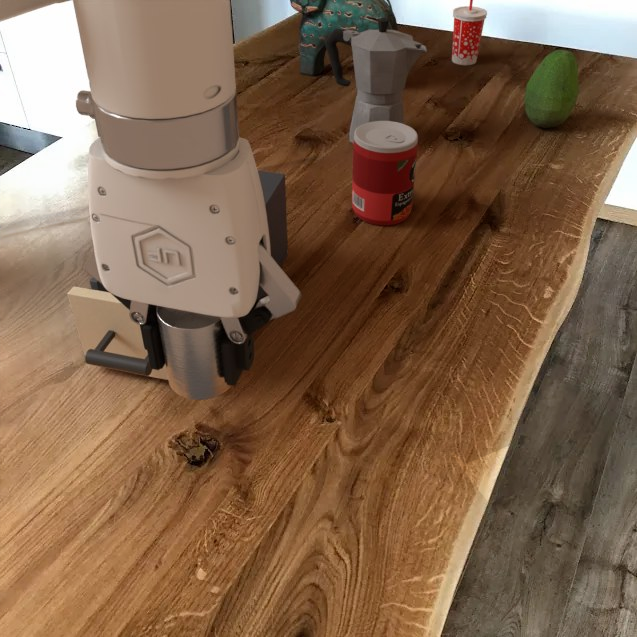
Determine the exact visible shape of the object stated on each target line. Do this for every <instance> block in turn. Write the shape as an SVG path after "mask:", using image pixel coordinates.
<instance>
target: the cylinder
mask: <svg viewBox="0 0 637 637" xmlns="http://www.w3.org/2000/svg"><path fill="white" fill-rule="evenodd" d="M156 311H157V318H158V323H159V329H160V335H161V341H162V346H163V352H164V358H165V363H166V369H167V375H168V380H167V381H168V385H169V387H170V389H171V390H172V391H173V392H174V393H175V394H176V395H178V396H179V397H182V398H184V399H188V400H192V401H204V400H210V399H213V398H217V397H218V396H219V397H220V396H221V395H222V394H225V393H226V392H227V391H228V390H229V389H230V388H231V387H232V386H231V385H227V383H226V382H225V381H224V371H223V362H222V353H221V342H222V340H223V338H224V336H225V335H226V331H225V328H224V326H223V324H222V321H221V319H220V317H216V316H210V315H205V314H199V313H194V312H189V311H183V310H178V309H173V308H167V307H162V306H157V308H156Z"/></svg>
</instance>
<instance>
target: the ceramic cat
mask: <svg viewBox="0 0 637 637" xmlns="http://www.w3.org/2000/svg"><path fill="white" fill-rule="evenodd" d="M289 2H290V6H291V8H292V9H293V10H294V11H296V12H298V13H300V14H301V15H302V16H301V19H300V23H299V42H298V53H299V54H298V55H299V73H300V74H301V75H307V76H310V77H314V76H317V75H319V74H320V73H321V72H323V71H324V70H325V58H326V52H327V49H326V46H325V40H326V38H327V37H328V36H329V35H330V34H331V32H332V31H333V30H334V29H337V28H338V29H343V30H353V31H357V32H359V33H360V32H364V31H367V30H379V26H378V19H379V18H387V19H389V22H388V26H387V30H396V31H399V27H398V23H397V18H396V15H395V13H394V10H393V6H392V3H391V1H390V0H289Z"/></svg>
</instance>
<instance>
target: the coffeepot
mask: <svg viewBox="0 0 637 637" xmlns="http://www.w3.org/2000/svg"><path fill="white" fill-rule="evenodd" d="M388 22H389V19H387V18H379V19H378V26H379V30H367V31H364V32H360V33H359V32H357V31H353V30H343V29H338V28H337V29H334V30H333V31H332V32H331V34H330V35H329V36H328V37H327V38H326V40H325V46H326V49H327V50H326V52H327V56H328V59H329V62H330V65H331V69H332V73H333V76H334V79H335V82H336V84H337V85H339V86H341V87H349V86H350V84H351V80H350V79H349V80H348V79H346V78H344V76H343V66H342V63H341V61H340V54H339V48H338V46H337V43H342V44H344V45H347V46H350V47H351V52H352V60H353V69H354V71H353V72H354V78H355V87H356V89H357V92H356V93H357V94H356V97H355V101H354V106H353V112H352V116H351V123H350V127H349V139H348V140H349V143H351V144H352V145H353V142H354V132H355V130H356V128H358V127H359V126H360V125H362V124H365V123H369V122H374V121H392V122H398V123H402V124H405V118H404V116H405V114H404V105H403V104H404V103H403V90H404V89H405V88H406V83H407V79H408V74H409V72H410V71H411V70H412V69H413V66H414V65H415V64H416V63H417V61H418V60H419V58H420V57H421V56H422V55H423V54H426V53H427V51H428V49H427V47H426V46H425V45H423V43H421V42H419V41H415V40H414V38H413V37H414V36H413V35H411V34H408V33H405V32H401V31H399V30H398V31H396V30H387V26H388Z"/></svg>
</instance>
